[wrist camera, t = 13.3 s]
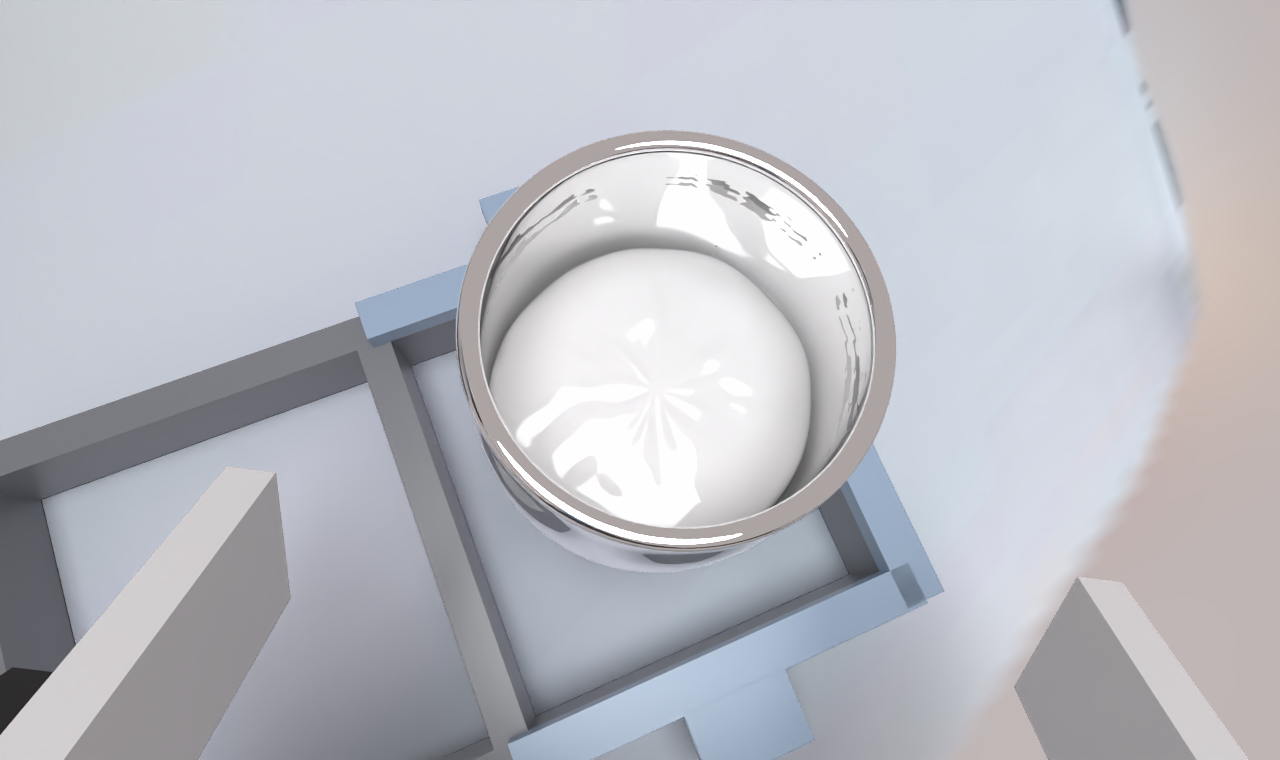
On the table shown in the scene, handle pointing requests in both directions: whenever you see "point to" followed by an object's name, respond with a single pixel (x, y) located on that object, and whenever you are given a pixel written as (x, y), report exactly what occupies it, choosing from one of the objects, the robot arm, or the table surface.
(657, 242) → the drinking glass
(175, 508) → the table surface
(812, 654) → the open frame
